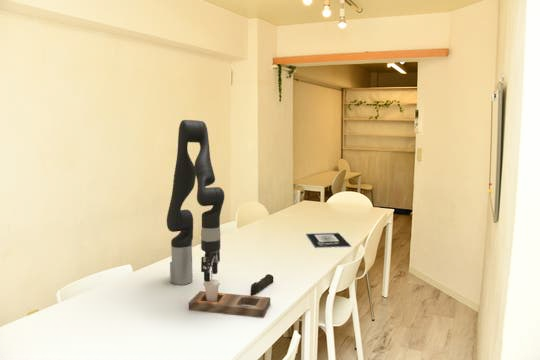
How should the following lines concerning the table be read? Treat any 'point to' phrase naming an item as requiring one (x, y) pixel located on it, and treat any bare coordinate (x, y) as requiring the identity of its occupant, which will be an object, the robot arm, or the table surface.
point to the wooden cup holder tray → (231, 304)
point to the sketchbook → (327, 240)
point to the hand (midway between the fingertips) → (210, 277)
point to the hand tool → (261, 284)
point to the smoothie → (211, 289)
